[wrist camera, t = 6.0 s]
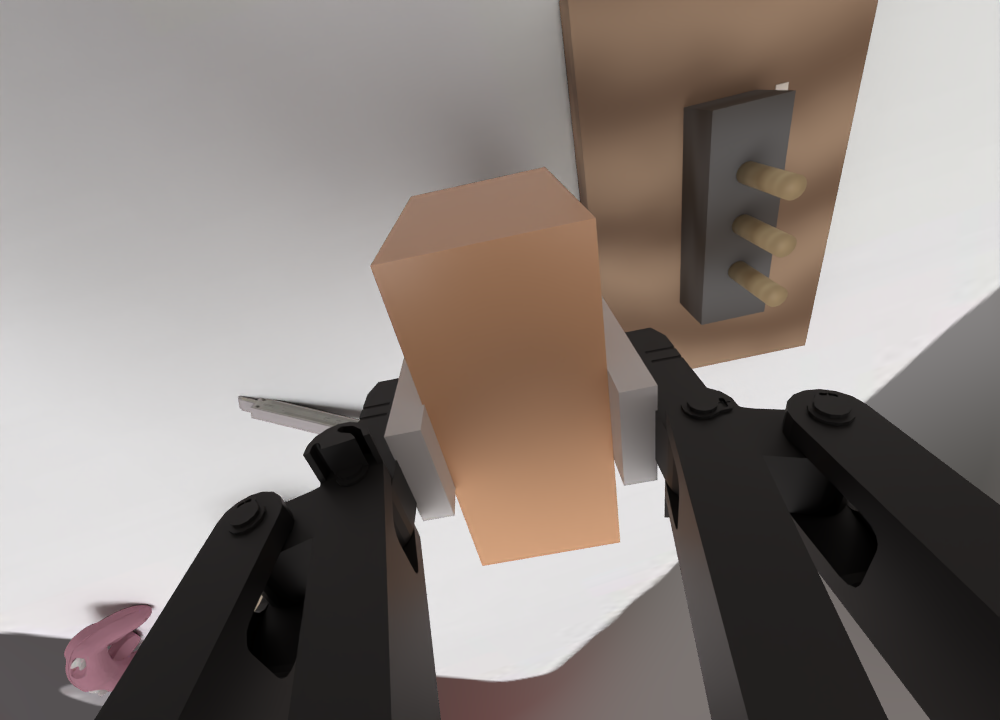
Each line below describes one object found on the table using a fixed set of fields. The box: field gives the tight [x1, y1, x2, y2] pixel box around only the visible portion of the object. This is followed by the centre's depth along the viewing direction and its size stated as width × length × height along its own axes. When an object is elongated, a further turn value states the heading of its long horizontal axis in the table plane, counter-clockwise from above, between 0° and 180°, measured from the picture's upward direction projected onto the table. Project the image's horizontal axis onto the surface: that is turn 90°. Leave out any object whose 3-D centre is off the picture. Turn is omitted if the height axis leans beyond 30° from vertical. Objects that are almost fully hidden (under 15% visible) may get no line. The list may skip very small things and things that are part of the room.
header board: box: [559, 0, 878, 369], centre depth 22 cm, size 22×14×8 cm, turn 12°
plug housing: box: [370, 167, 620, 566], centre depth 12 cm, size 9×4×6 cm, turn 11°
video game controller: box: [64, 605, 152, 696], centre depth 45 cm, size 10×5×7 cm, turn 170°
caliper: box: [238, 396, 360, 434], centre depth 31 cm, size 20×1×6 cm, turn 78°
